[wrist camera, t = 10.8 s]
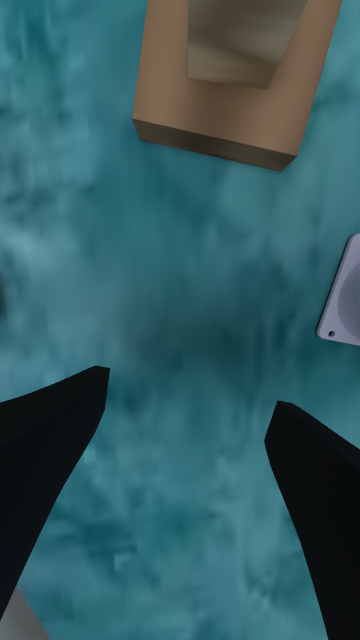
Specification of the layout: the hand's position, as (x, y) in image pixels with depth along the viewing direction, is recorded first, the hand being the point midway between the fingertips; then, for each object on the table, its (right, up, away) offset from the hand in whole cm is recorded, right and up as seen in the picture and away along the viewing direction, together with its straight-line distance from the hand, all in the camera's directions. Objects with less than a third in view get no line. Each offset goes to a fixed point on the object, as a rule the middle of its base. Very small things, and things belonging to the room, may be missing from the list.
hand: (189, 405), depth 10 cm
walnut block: (+3, +20, +6) cm, 21 cm away
